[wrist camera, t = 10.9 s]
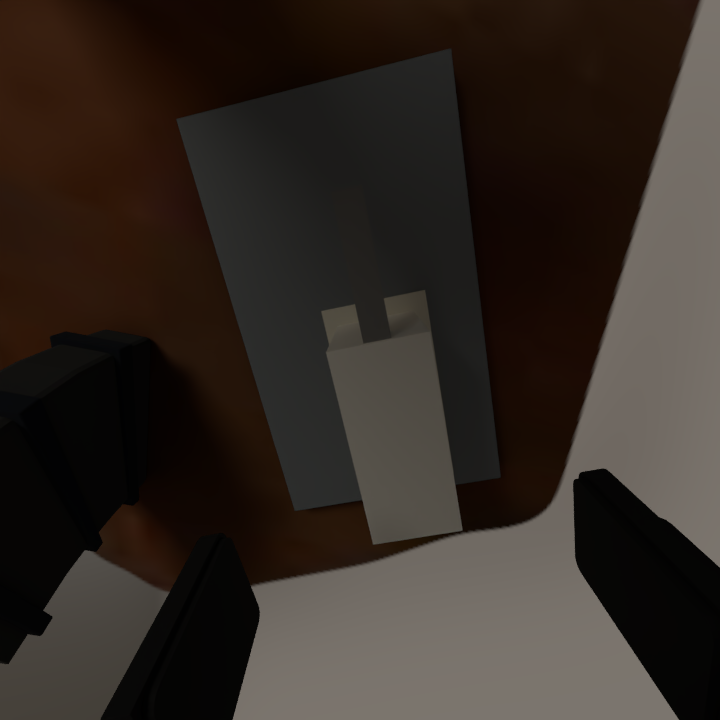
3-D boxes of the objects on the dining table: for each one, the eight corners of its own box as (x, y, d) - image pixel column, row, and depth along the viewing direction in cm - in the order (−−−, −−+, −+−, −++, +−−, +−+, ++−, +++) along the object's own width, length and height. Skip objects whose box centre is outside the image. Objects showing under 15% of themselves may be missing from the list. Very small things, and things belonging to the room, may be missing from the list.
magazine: (143, 289, 20) (-187, 593, 9) (182, 430, 29) (38, 673, 18) (76, 276, 20) (-344, 567, 9) (135, 421, 29) (-39, 660, 18)
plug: (312, 217, 19) (288, 200, 13) (393, 198, 19) (404, 173, 13) (372, 473, 23) (373, 544, 18) (439, 462, 23) (462, 530, 17)
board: (187, 127, 19) (129, 85, 15) (445, 61, 18) (472, -7, 14) (298, 499, 26) (282, 553, 21) (494, 467, 25) (524, 516, 20)
